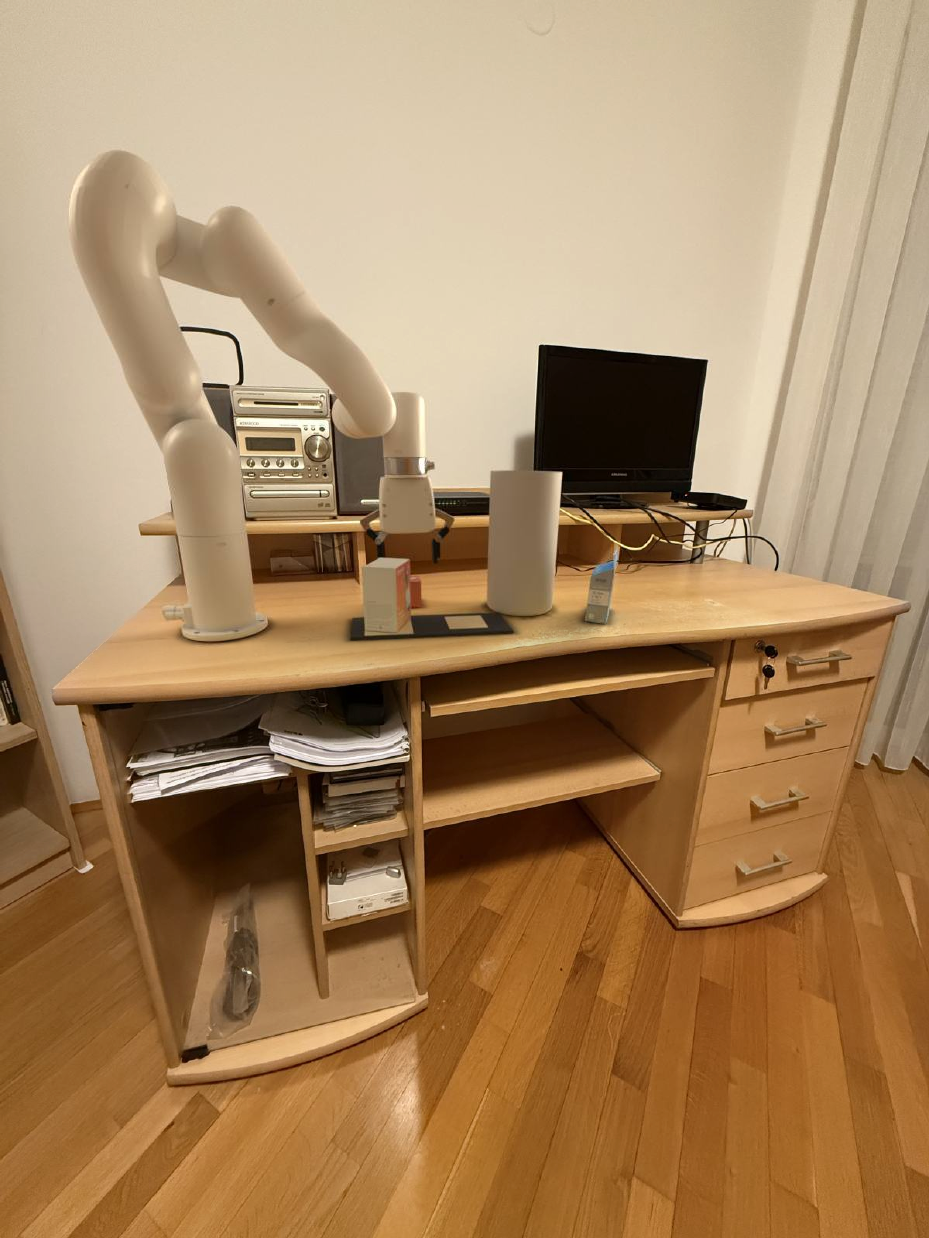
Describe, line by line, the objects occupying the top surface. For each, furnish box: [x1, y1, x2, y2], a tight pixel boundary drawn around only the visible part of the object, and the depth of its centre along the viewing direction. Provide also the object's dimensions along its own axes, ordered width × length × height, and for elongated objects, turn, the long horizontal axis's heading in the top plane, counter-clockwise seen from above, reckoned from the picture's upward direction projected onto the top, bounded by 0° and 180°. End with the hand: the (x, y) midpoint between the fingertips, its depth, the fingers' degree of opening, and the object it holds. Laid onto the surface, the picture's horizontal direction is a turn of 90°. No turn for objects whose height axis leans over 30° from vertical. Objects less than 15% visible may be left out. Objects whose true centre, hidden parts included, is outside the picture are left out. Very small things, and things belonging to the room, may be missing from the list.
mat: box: [349, 611, 514, 641], centre depth 82 cm, size 26×10×1 cm, turn 100°
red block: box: [410, 575, 423, 608], centre depth 94 cm, size 5×5×5 cm
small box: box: [361, 557, 412, 633], centre depth 79 cm, size 8×6×10 cm
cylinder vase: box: [486, 469, 563, 617], centre depth 90 cm, size 12×12×25 cm
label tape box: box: [584, 546, 619, 625], centre depth 87 cm, size 9×4×12 cm, turn 161°
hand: (409, 563), depth 93 cm, fingers open, 9 cm apart
